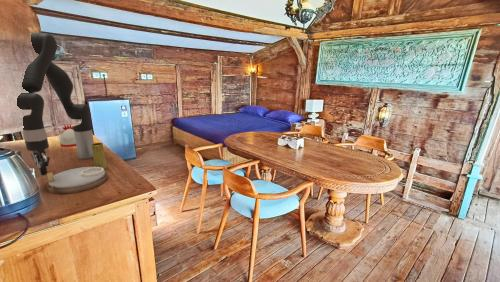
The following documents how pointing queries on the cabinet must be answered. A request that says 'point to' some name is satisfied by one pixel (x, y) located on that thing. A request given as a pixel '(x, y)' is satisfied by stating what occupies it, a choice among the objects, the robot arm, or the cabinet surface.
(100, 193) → the cabinet surface
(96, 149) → the vase
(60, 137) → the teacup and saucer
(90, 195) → the cabinet surface
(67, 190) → the turntable base
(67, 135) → the kitchen timer
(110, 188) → the cabinet surface
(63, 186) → the turntable
